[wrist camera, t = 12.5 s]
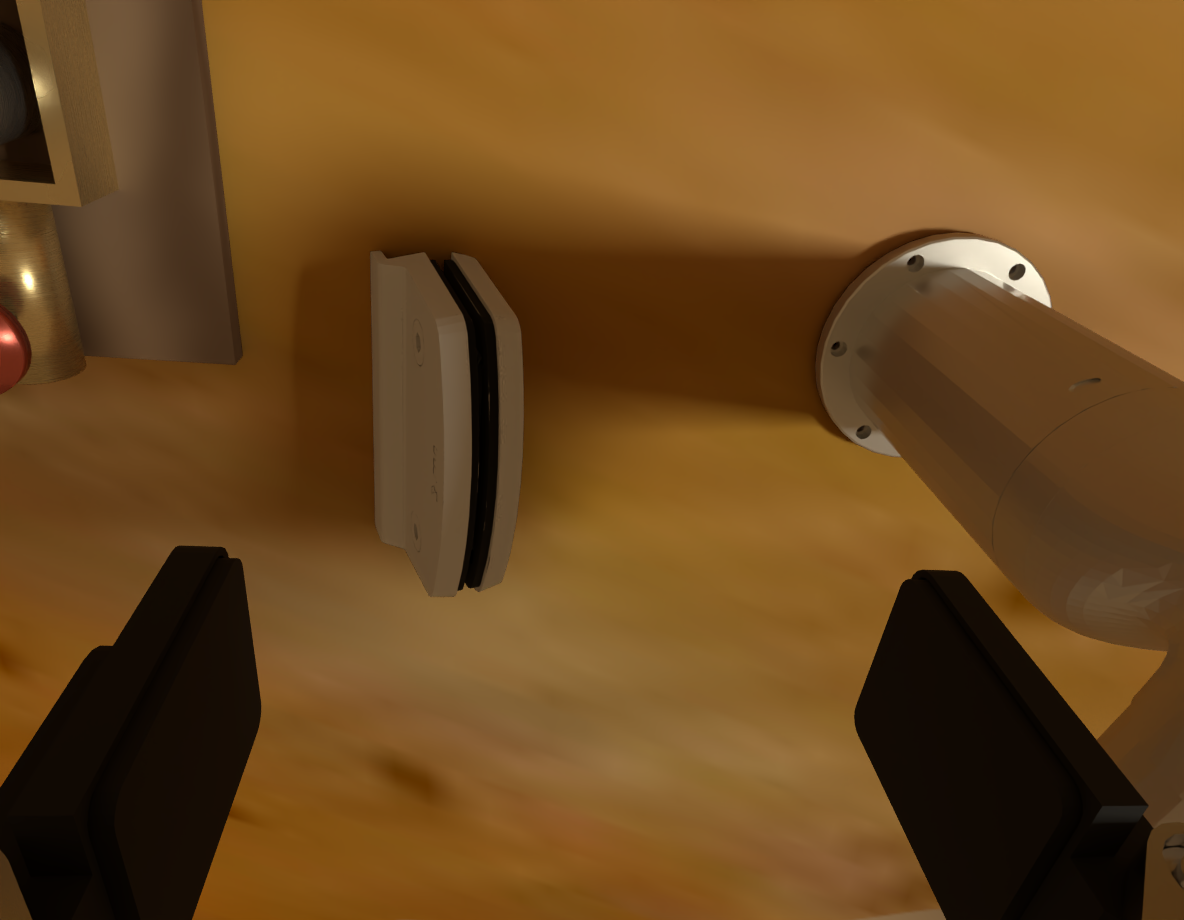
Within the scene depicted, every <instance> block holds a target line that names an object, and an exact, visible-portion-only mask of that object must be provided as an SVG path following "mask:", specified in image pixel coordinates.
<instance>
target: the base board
mask: <svg viewBox="0 0 1184 920" xmlns="http://www.w3.org/2000/svg"><path fill="white" fill-rule="evenodd" d="M85 1H86V7H87V13H88V18H89V24H90V29H91V35H92V41H93V46H94V52H95V58H96V63H97V69H98V74H99V80H100V86H101V91H102V97H103V102H104V108H105V114H106V119H107V125H108V131H109V136H110V142H111V147H112V153H113V159H114V164H115V170H116V175H117V181H118V187H119V190H117V191H115V192H113V193H110V194H108V195H106V196H104V197H102V198H100V199H98V200H95V201H93V202H91V203H89V204H87V205H85V206H82V207H76V206H64V205H52V204H51V206H52V211H53V215H54V220H55V224H56V229H57V233H58V238H59V242H60V247H61V251H62V256H63V261H64V265H65V270H66V274H67V279H68V283H69V288H70V292H71V297H72V301H73V306H74V310H75V315H76V320H77V324H78V329H79V333H80V338H81V342H82V347H83V351H84V356H99V357H116V358H132V359H148V360H165V361H181V362H198V363H214V364H231V365H236V364H237V362H238V361H239V360H240V358H241V357H242V356H243V354H242V346H241V337H240V328H239V320H238V311H237V303H236V294H235V285H234V277H233V268H232V260H231V251H230V242H229V234H228V225H227V217H226V208H225V199H224V191H223V182H222V174H221V165H220V156H219V148H218V139H217V131H216V122H215V113H214V105H213V96H212V88H211V79H210V70H209V62H208V53H207V45H206V36H205V27H204V19H203V10H202V1H201V0H85ZM0 22H1V23H4V24H6V25H8V26H10V27H12V28H13V29H15V30H17V31H18V32H20V33H21V34H22V35H23V31H22V27H21V22H20V17H19V13H18V8H17V3H16V0H0ZM0 160H5V161H16V162H27V163H38V164H50V165H51V161H50V157H49V152H48V147H47V143H46V138H45V134H44V129H41V130H40V131H38V132H36V133H34V134H31V135H28V136H26V137H23V138H20V139H17V140H14V141H11V142H8V143H5V144H2V145H0Z"/></svg>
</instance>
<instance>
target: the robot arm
mask: <svg viewBox="0 0 1184 920" xmlns="http://www.w3.org/2000/svg"><path fill="white" fill-rule="evenodd" d="M911 257H912V259H911V261H910V262H909V263H907V262H908V261H909V259H910V258H911ZM836 342H837V344H836V345H835V346H833V347H832V345H833V344H834V343H836ZM815 373H816V383H817V389H818V392H819V395H820V398H821V401H822V405H823V406H824V408H825V410H826V411H827V413H828V415H829V416H830V418H831V419H832V421H833V422H834V423H835V424H836V426H837V427H838V428H839V429H840V430H841V432H842V433H843V434H844V435H846V436H847V437H848V438H849V439H850V440H851V441H853V442H854V443H856V444H857V445H859V446H861V447H863V448H866V449H868V450H870V451H872V452H874V453H879V454H883V455H887V456H891V457H902V458H903V459H904V460H905V461H906V462H907V463H908V465H909V466H910V467H911V468H912V469H913V470H914V472H915V473H916V474H917V475H918V476H919V477H920V478H921V480H922V481H923V482H924V483H925V484H926V485H927V486H928V488H929V489H930V490H931V491H932V492H933V493H934V495H935V496H936V497H937V498H938V499H939V500H940V501H941V503H942V504H943V505H944V506H945V507H946V508H947V509H948V511H949V512H950V513H951V514H952V515H953V516H954V517H955V519H956V520H957V521H958V522H959V523H960V524H961V526H962V527H963V528H964V529H965V530H966V531H967V532H968V534H969V535H970V536H971V537H972V538H973V539H974V540H975V542H976V543H977V544H978V545H979V546H980V547H981V548H982V550H983V551H984V552H985V553H986V554H987V555H988V557H989V558H990V559H991V560H992V561H993V562H994V563H995V565H996V566H997V567H998V568H999V569H1000V570H1001V571H1002V573H1003V574H1004V575H1005V576H1006V577H1007V578H1008V579H1009V580H1010V581H1011V582H1012V583H1013V585H1014V586H1015V587H1016V588H1017V589H1018V590H1019V591H1020V592H1021V594H1022V595H1023V596H1024V597H1025V598H1026V599H1027V600H1028V601H1029V602H1030V603H1031V604H1032V605H1033V606H1034V607H1036V608H1037V609H1038V610H1039V611H1040V612H1042V613H1043V614H1044V615H1046V616H1047V617H1049V618H1050V619H1051V620H1053V621H1054V622H1056V623H1058V624H1060V625H1062V626H1064V627H1066V628H1068V629H1070V630H1072V631H1074V632H1076V633H1078V634H1080V635H1083V636H1086V637H1089V638H1092V639H1096V640H1100V641H1104V642H1108V643H1111V644H1116V645H1121V646H1127V647H1134V648H1140V649H1148V650H1157V651H1168V652H1167V655H1166V657H1165V659H1164V661H1163V662H1162V664H1161V666H1160V667H1159V669H1158V670H1157V671H1156V672H1155V673H1154V674H1153V676H1152V677H1151V678H1150V679H1149V680H1148V681H1147V683H1146V684H1145V685H1144V686H1143V687H1142V688H1141V689H1140V691H1139V692H1138V693H1137V694H1136V695H1135V696H1134V697H1133V699H1132V701H1131V704H1130V705H1129V706H1128V708H1127V709H1126V710H1125V711H1124V712H1123V713H1122V714H1121V715H1120V716H1119V717H1118V718H1117V719H1116V720H1115V721H1114V722H1113V723H1112V724H1111V725H1110V726H1109V727H1108V729H1107V730H1106V731H1105V732H1104V733H1103V734H1102V735H1101V736H1100V737H1099V738H1098V739H1097V740H1096V739H1095V738H1094V736H1093V735H1092V734H1091V733H1090V731H1089V730H1088V729H1087V728H1086V726H1085V725H1084V724H1083V723H1082V721H1081V720H1080V719H1079V718H1078V716H1077V715H1076V714H1075V713H1074V711H1073V710H1072V709H1071V708H1070V706H1069V705H1068V704H1067V703H1066V701H1065V700H1064V699H1063V698H1062V696H1061V695H1060V694H1059V693H1058V691H1057V690H1056V689H1055V688H1054V686H1053V685H1052V684H1051V683H1050V681H1049V680H1048V679H1047V678H1046V676H1045V675H1044V674H1043V673H1042V671H1041V670H1040V669H1039V668H1038V666H1037V665H1036V664H1035V663H1034V661H1033V660H1032V659H1031V658H1030V656H1029V655H1028V654H1027V653H1026V651H1025V650H1024V649H1023V648H1022V646H1021V645H1020V644H1019V643H1018V641H1017V640H1016V639H1015V638H1014V636H1013V635H1012V634H1011V633H1010V631H1009V630H1008V629H1007V628H1006V626H1005V625H1004V624H1003V623H1002V621H1001V620H1000V619H999V618H998V616H997V615H996V614H995V613H994V611H993V610H992V609H991V608H990V606H989V605H988V604H987V603H986V601H985V600H984V599H983V598H982V596H981V595H980V594H979V593H978V591H977V590H976V589H975V588H974V586H973V585H972V584H971V583H970V581H969V580H968V579H967V578H966V577H965V576H964V575H963V574H962V573H961V572H958V571H945V570H919V571H917V572H916V573H915V574H914V575H913V577H912V579H908V580H905V581H904V582H903V583H902V585H901V587H900V590H899V592H898V595H897V598H896V600H895V603H894V606H893V608H892V611H891V614H890V616H889V619H888V622H887V624H886V627H885V630H884V633H883V635H882V638H881V641H880V643H879V646H878V649H877V651H876V654H875V657H874V659H873V662H872V665H871V667H870V670H869V673H868V675H867V678H866V681H865V683H864V686H863V689H862V691H861V694H860V697H859V700H858V702H857V705H856V708H855V715H854V719H855V727H856V731H857V733H858V736H859V738H860V740H861V742H862V744H863V746H864V748H865V750H866V753H867V755H868V757H869V759H870V761H871V763H872V765H873V767H874V769H875V771H876V773H877V776H878V778H879V780H880V782H881V784H882V786H883V788H884V790H885V792H886V794H887V797H888V799H889V801H890V803H891V805H892V807H893V809H894V811H895V813H896V815H897V817H898V820H899V822H900V824H901V826H902V828H903V830H904V832H905V834H906V836H907V838H908V840H909V843H910V845H911V847H912V849H913V851H914V853H915V855H916V857H917V859H918V861H919V863H920V866H921V868H922V870H923V872H924V874H925V876H926V878H927V880H928V882H929V884H930V887H931V889H932V891H933V893H934V895H935V897H936V899H937V901H938V903H939V905H940V907H941V910H942V912H943V913H944V916H945V918H946V920H1184V382H1183V381H1181V380H1179V379H1178V378H1176V377H1174V376H1172V375H1170V374H1169V373H1167V372H1165V371H1163V370H1161V369H1160V368H1158V367H1156V366H1154V365H1152V364H1151V363H1149V362H1147V361H1145V360H1143V359H1142V358H1140V357H1138V356H1136V355H1134V354H1133V353H1131V352H1129V351H1127V350H1125V349H1124V348H1122V347H1120V346H1118V345H1117V344H1115V343H1113V342H1111V341H1109V340H1108V339H1106V338H1104V337H1102V336H1100V335H1099V334H1097V333H1095V332H1093V331H1091V330H1090V329H1088V328H1086V327H1084V326H1082V325H1081V324H1079V323H1077V322H1075V321H1073V320H1072V319H1070V318H1068V317H1066V316H1064V315H1063V314H1061V313H1059V312H1057V311H1055V310H1054V309H1052V304H1051V297H1050V294H1049V291H1048V289H1047V286H1046V284H1045V281H1044V279H1043V277H1042V276H1041V274H1040V273H1039V271H1038V270H1037V269H1036V267H1035V266H1034V265H1033V263H1032V262H1031V261H1030V260H1028V259H1027V258H1026V257H1025V256H1024V255H1022V254H1021V253H1020V252H1019V251H1017V250H1016V249H1014V248H1012V247H1010V246H1008V245H1006V244H1004V243H1002V242H1000V241H998V240H995V239H992V238H989V237H986V236H983V235H980V234H970V233H959V232H955V233H946V234H937V235H932V236H928V237H925V238H921V239H918V240H915V241H911V242H909V243H907V244H905V245H903V246H901V247H899V248H897V249H895V250H893V251H891V252H889V253H887V254H886V255H884V256H883V257H881V258H880V259H879V260H877V261H876V262H874V263H873V264H872V265H870V266H869V267H867V268H866V269H865V270H864V271H863V272H862V273H861V274H860V275H859V276H858V277H857V278H856V279H855V280H854V281H853V282H852V283H851V284H850V285H849V286H848V288H847V289H846V290H845V292H844V293H843V294H842V296H841V297H840V298H839V300H838V301H837V302H836V304H835V305H834V307H833V309H832V311H831V313H830V315H829V317H828V319H827V321H826V323H825V325H824V327H823V330H822V334H821V337H820V340H819V343H818V347H817V355H816V364H815ZM260 717H261V699H260V691H259V684H258V676H257V669H256V661H255V654H254V647H253V639H252V632H251V624H250V617H249V610H248V602H247V595H246V587H245V580H244V572H243V566H242V562H241V560H240V559H238V558H229V557H228V553H227V551H226V549H225V548H223V547H206V546H177V547H175V548H174V550H173V551H172V552H171V554H170V555H169V557H168V558H167V560H166V562H165V563H164V565H163V566H162V568H161V570H160V571H159V573H158V574H157V576H156V578H155V579H154V581H153V582H152V584H151V586H150V587H149V589H148V590H147V592H146V594H145V595H144V597H143V598H142V600H141V602H140V603H139V605H138V607H137V608H136V610H135V611H134V613H133V615H132V616H131V618H130V619H129V621H128V623H127V624H126V626H125V627H124V629H123V631H122V632H121V634H120V635H119V637H118V639H117V640H116V642H115V643H114V645H113V646H99V647H97V648H95V649H93V650H92V651H91V652H90V653H89V654H88V656H87V657H86V658H85V659H84V661H83V662H82V664H81V665H80V667H79V668H78V670H77V671H76V673H75V674H74V676H73V677H72V679H71V680H70V682H69V683H68V685H67V687H66V688H65V690H64V691H63V693H62V694H61V696H60V697H59V699H58V700H57V702H56V703H55V705H54V706H53V708H52V709H51V711H50V713H49V714H48V716H47V717H46V719H45V720H44V722H43V723H42V725H41V726H40V728H39V729H38V731H37V732H36V734H35V735H34V737H33V739H32V740H31V742H30V743H29V745H28V746H27V748H26V749H25V751H24V752H23V754H22V755H21V757H20V758H19V760H18V761H17V763H16V765H15V766H14V768H13V769H12V771H11V772H10V774H9V775H8V777H7V778H6V780H5V781H4V783H3V784H2V786H1V787H0V920H192V918H193V915H194V912H195V909H196V906H197V903H198V900H199V898H200V895H201V892H202V889H203V886H204V883H205V880H206V878H207V875H208V872H209V869H210V866H211V863H212V860H213V858H214V855H215V852H216V849H217V846H218V843H219V840H220V838H221V835H222V832H223V829H224V826H225V823H226V820H227V817H228V815H229V812H230V809H231V806H232V803H233V800H234V797H235V795H236V792H237V789H238V786H239V783H240V780H241V777H242V775H243V772H244V769H245V766H246V763H247V760H248V757H249V755H250V752H251V749H252V746H253V743H254V740H255V737H256V735H257V731H258V728H259V723H260Z"/></svg>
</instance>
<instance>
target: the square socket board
mask: <svg viewBox="0 0 1184 920" xmlns="http://www.w3.org/2000/svg"><path fill="white" fill-rule="evenodd" d="M16 3H17V8H18V13H19V17H20V22H21V27H22V31H23V36H24V41H25V45H26V50H27V55H28V59H29V64H30V68H31V73H32V78H33V82H34V87H35V92H36V96H37V101H38V106H39V110H40V115H41V120H42V124H43V129H44V134H45V138H46V143H47V147H48V152H49V157H50V161H51V165H50V164H38V163H27V162H16V161H5V160H0V394H2V393H4V392H6V391H7V390H9V389H10V388H12V387H13V386H14V385H15V384H43V383H50V382H56V381H60V380H64V379H67V378H70V377H73V376H75V375H77V374H79V373H81V372H82V371H83V370H84V369H85V368H86V360H85V356H84V351H83V347H82V342H81V338H80V333H79V329H78V324H77V320H76V315H75V310H74V306H73V301H72V297H71V292H70V288H69V283H68V279H67V274H66V270H65V265H64V261H63V256H62V251H61V247H60V242H59V238H58V233H57V229H56V224H55V220H54V215H53V211H52V206H51V204H52V205H64V206H76V207H82V206H85V205H87V204H89V203H91V202H93V201H95V200H98V199H100V198H102V197H104V196H106V195H108V194H110V193H113V192H115V191H117V190H119V187H118V181H117V175H116V170H115V164H114V159H113V153H112V147H111V142H110V136H109V131H108V125H107V119H106V114H105V108H104V102H103V97H102V91H101V86H100V80H99V74H98V69H97V63H96V58H95V52H94V46H93V41H92V35H91V29H90V24H89V18H88V13H87V7H86V1H85V0H16Z"/></svg>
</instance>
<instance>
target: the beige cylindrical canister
mask: <svg viewBox="0 0 1184 920" xmlns="http://www.w3.org/2000/svg"><path fill="white" fill-rule="evenodd" d="M41 129H43V124H42V120H41V115H40V110H39V106H38V101H37V96H36V92H35V87H34V82H33V78H32V73H31V68H30V64H29V59H28V55H27V50H26V45H25V41H24V36H23V35H22V34H21V33H20V32H18V31H17V30H15V29H13V28H12V27H10V26H8V25H6V24H4V23H1V22H0V145H2V144H5V143H8V142H11V141H14V140H17V139H20V138H23V137H26V136H28V135H31V134H34V133H36V132H38V131H40V130H41Z"/></svg>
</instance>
